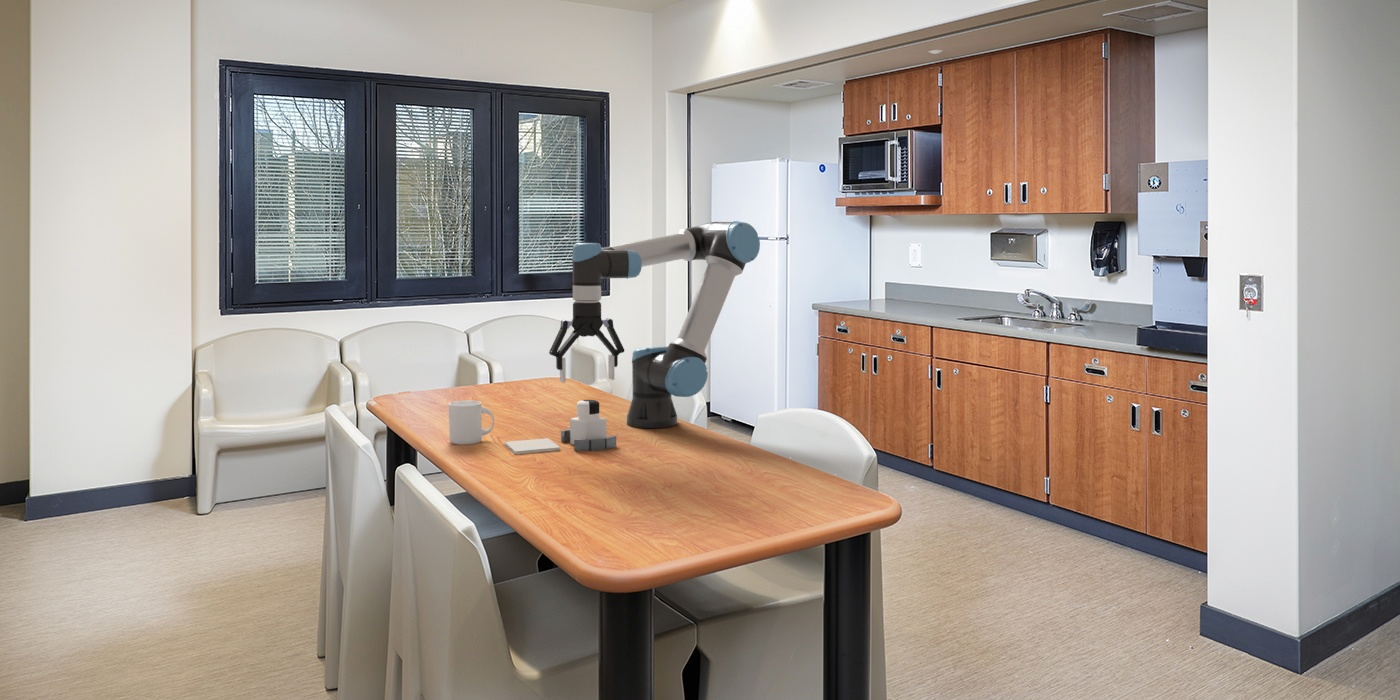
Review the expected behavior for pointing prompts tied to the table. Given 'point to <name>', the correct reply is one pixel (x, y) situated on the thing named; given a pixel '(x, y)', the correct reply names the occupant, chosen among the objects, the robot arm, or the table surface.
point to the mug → (467, 422)
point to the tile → (532, 446)
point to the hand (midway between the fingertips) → (587, 380)
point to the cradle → (589, 442)
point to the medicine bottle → (587, 422)
